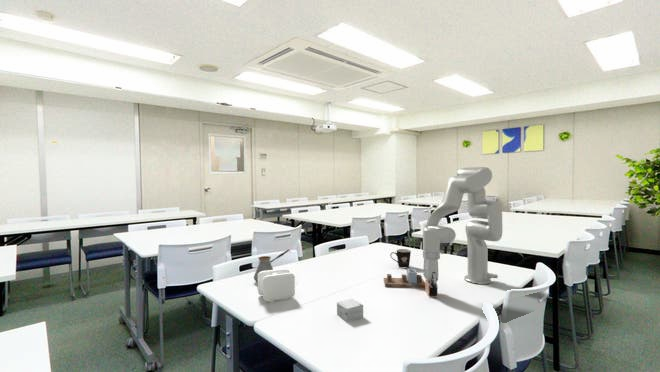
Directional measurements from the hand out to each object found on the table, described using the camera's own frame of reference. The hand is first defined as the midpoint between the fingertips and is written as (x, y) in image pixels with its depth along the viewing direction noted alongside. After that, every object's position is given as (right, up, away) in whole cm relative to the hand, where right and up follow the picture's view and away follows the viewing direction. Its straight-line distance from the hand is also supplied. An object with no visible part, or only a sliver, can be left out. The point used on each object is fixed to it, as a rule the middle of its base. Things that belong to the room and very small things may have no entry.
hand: (431, 292), depth 144 cm
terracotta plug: (0, -1, 0) cm, 1 cm away
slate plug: (-5, +1, +14) cm, 15 cm away
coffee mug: (-3, 0, +47) cm, 47 cm away
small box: (-39, -2, -22) cm, 45 cm away
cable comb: (-9, -1, +14) cm, 17 cm away
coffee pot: (-78, -1, +23) cm, 81 cm away
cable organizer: (-72, -2, -2) cm, 72 cm away
